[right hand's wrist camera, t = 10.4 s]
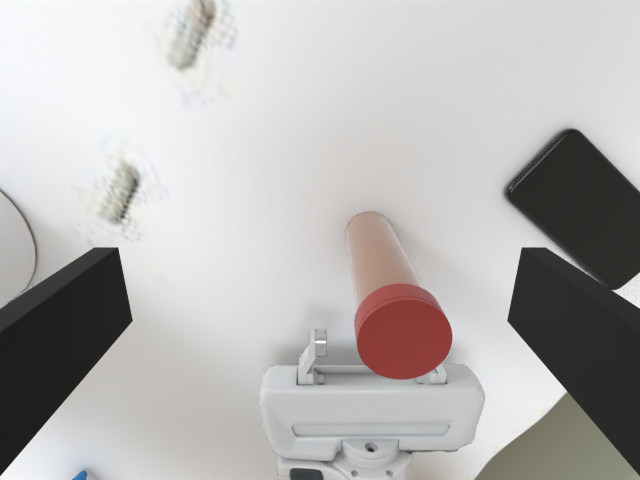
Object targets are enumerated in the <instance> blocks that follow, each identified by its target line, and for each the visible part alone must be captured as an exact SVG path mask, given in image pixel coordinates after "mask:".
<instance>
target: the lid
mask: <svg viewBox="0 0 640 480" xmlns="http://www.w3.org/2000/svg"><path fill="white" fill-rule="evenodd" d="M354 326H355V334H356V341H357V348H358V352H359V355H360V357H361V359H362V361H363V362H364V363H365V365H366V366H367V367H368V368H369V369H371V370H372V371H373V372H375V373H376V374H378V375H381V376H383V377H386V378H390V379H397V380H406V379H413V378H417V377H420V376H423V375H425V374H427V373H429V372H431V371H432V370H434V369H435V368H436V367H438V366H439V365H440V364H441V363H442V362H443V360H444V359H445V358H446V356H447V354H448V352H449V350H450V347H451V343H452V330H451V326H450V324H449V322H448V320H447V318H446V316H445V314H444V313H443V311H442V309H441V307H440V306H439V304H438V302H437V300H436V299H435V298H434V297H433V296H432V295H431V294H430V293H429V292H428V291H426V290H424V289H423V288H421V287H418V286H415V285H411V284H404V283H398V284H391V285H386V286H384V287H381V288H379V289H377V290H375V291H374V292H372V293H371V294H369V295H368V296H367V297H366V298H365V299H364V300H363V301H362V303H361V304H360V306H359V308H358V310H357V312H356V315H355V322H354Z"/></svg>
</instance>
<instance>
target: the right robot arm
mask: <svg viewBox="0 0 640 480" xmlns="http://www.w3.org/2000/svg"><path fill="white" fill-rule="evenodd" d="M132 321H133V320H132V315H131V310H130V305H129V300H128V295H127V290H126V285H125V280H124V275H123V270H122V265H121V260H120V255H119V250H118V248H93V249H91V250H90V251H88V252H87V253H85V254H84V255H82V256H81V257H79V258H78V259H76V260H75V261H73V262H71V263H70V264H68V265H67V266H65V267H64V268H62V269H61V270H59V271H58V272H56V273H55V274H53V275H51V276H50V277H48V278H47V279H45V280H44V281H42V282H41V283H39V284H38V285H36V286H34V287H33V288H31V289H30V290H28V291H27V292H25V293H24V294H22V295H21V296H19V297H18V298H16V299H14V300H13V301H11V302H10V303H8V304H7V305H5V306H4V307H2V308H1V309H0V476H1V475H2V473H3V472H4V471H5V470H6V469H7V468H8V466H9V465H10V464H11V463H12V462H13V461H14V459H15V458H16V457H17V456H18V455H19V453H20V452H21V451H22V450H23V449H24V448H25V446H26V445H27V444H28V443H29V442H30V441H31V439H32V438H33V437H34V436H35V435H36V434H37V432H38V431H39V430H40V429H41V428H42V427H43V425H44V424H45V423H46V422H47V421H48V419H49V418H50V417H51V416H52V415H53V414H54V412H55V411H56V410H57V409H58V408H59V407H60V405H61V404H62V403H63V402H64V401H65V400H66V398H67V397H68V396H69V395H70V394H71V393H72V391H73V390H74V389H75V388H76V387H77V386H78V384H79V383H80V382H81V381H82V380H83V378H84V377H85V376H86V375H87V374H88V373H89V371H90V370H91V369H92V368H93V367H94V366H95V364H96V363H97V362H98V361H99V360H100V359H101V357H102V356H103V355H104V354H105V353H106V352H107V350H108V349H109V348H110V347H111V346H112V344H113V343H114V342H115V341H116V340H117V339H118V337H119V336H120V335H121V334H122V333H123V332H124V330H125V329H126V328H127V327H128V326H129V325H130V323H131V322H132ZM507 321H508V322H509V323H510V325H511V326H512V327H513V328H514V329H515V330H516V332H517V333H518V334H519V335H520V336H521V337H522V339H523V340H524V341H525V342H526V343H527V344H528V346H529V347H530V348H531V349H532V350H533V352H534V353H535V354H536V355H537V356H538V357H539V359H540V360H541V361H542V362H543V363H544V364H545V366H546V367H547V368H548V369H549V370H550V371H551V373H552V374H553V375H554V376H555V377H556V378H557V380H558V381H559V382H560V383H561V384H562V386H563V387H564V388H565V389H566V390H567V391H568V393H569V394H570V395H571V396H572V397H573V398H574V400H575V401H576V402H577V403H578V404H579V405H580V407H581V408H582V409H583V410H584V411H585V412H586V414H587V415H588V416H589V417H590V418H591V419H592V421H593V422H594V423H595V424H596V425H597V427H598V428H599V429H600V430H601V431H602V432H603V434H604V435H605V436H606V437H607V438H608V439H609V441H610V442H611V443H612V444H613V445H614V446H615V448H616V449H617V450H618V451H619V452H620V453H621V455H622V456H623V457H624V458H625V459H626V460H627V462H628V463H629V464H630V465H631V466H632V468H633V469H634V470H635V471H636V472H637V473H638V475H639V476H640V309H639V308H638V307H636V306H635V305H633V304H632V303H630V302H629V301H627V300H626V299H624V298H622V297H621V296H619V295H618V294H616V293H615V292H613V291H612V290H610V289H609V288H607V287H606V286H604V285H602V284H601V283H599V282H598V281H596V280H595V279H593V278H592V277H590V276H589V275H587V274H585V273H584V272H582V271H581V270H579V269H578V268H576V267H575V266H573V265H572V264H570V263H569V262H567V261H565V260H564V259H562V258H561V257H559V256H558V255H556V254H555V253H553V252H552V251H550V250H549V249H547V248H522V250H521V255H520V260H519V265H518V270H517V275H516V280H515V285H514V290H513V295H512V300H511V305H510V310H509V315H508V320H507Z"/></svg>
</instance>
